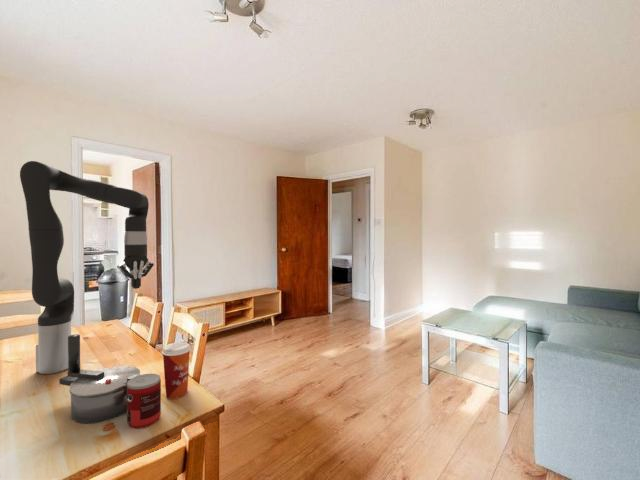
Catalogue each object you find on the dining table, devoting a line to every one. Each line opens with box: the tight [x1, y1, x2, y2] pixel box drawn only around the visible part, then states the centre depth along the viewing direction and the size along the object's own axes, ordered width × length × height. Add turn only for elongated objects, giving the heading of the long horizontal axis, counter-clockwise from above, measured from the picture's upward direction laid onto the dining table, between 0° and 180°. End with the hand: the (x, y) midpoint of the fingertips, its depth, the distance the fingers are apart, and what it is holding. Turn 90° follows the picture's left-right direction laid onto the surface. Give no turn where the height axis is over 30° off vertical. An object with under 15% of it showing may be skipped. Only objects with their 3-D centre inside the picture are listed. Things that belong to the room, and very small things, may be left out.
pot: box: [58, 375, 127, 425], centre depth 89 cm, size 28×16×7 cm, turn 76°
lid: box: [66, 333, 141, 397], centre depth 88 cm, size 23×17×13 cm
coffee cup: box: [161, 341, 192, 399], centre depth 96 cm, size 8×8×15 cm
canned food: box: [126, 373, 162, 429], centre depth 82 cm, size 8×8×11 cm
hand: (136, 288), depth 118 cm, fingers closed
